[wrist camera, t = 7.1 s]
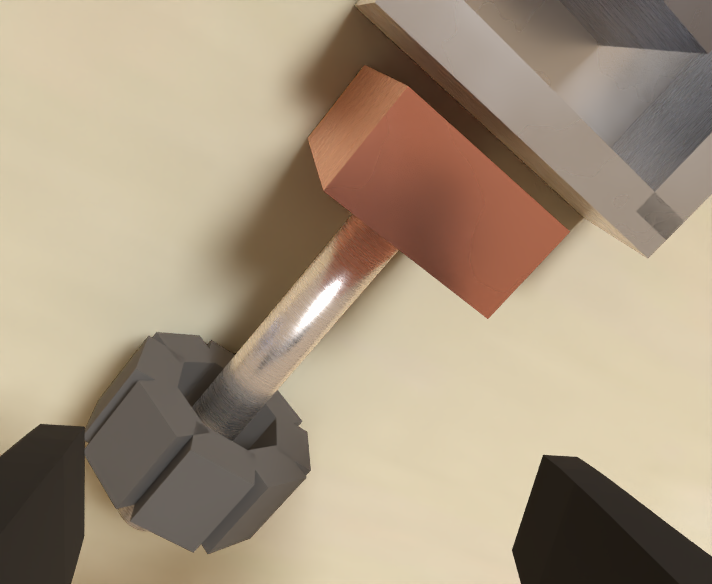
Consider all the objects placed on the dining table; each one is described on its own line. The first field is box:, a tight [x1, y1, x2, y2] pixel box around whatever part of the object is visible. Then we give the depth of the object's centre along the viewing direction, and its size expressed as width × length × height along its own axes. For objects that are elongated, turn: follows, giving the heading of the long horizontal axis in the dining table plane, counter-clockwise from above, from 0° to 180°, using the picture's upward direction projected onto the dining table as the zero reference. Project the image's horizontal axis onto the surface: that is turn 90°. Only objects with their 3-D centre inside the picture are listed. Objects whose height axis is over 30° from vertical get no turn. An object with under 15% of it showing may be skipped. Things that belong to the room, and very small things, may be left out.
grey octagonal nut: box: [85, 332, 311, 554], centre depth 17 cm, size 5×2×5 cm, turn 50°
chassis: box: [118, 0, 712, 531], centre depth 15 cm, size 9×26×6 cm, turn 140°
